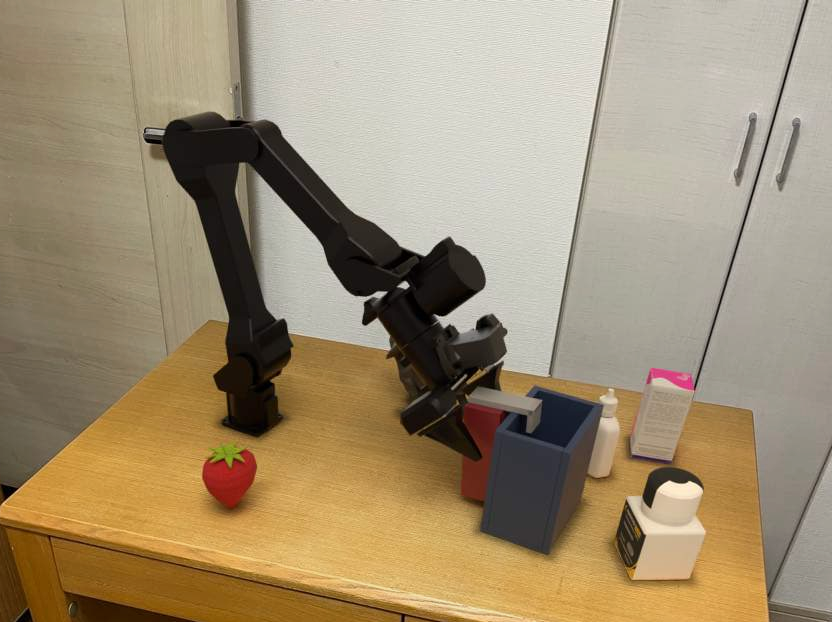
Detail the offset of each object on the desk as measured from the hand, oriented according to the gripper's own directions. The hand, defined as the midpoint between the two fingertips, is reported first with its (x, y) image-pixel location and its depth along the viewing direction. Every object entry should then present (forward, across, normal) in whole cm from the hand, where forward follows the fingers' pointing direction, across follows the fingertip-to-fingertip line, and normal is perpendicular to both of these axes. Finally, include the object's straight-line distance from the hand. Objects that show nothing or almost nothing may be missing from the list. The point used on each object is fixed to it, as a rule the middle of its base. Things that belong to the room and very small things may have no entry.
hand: (494, 442), depth 98 cm
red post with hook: (+6, 0, +4) cm, 7 cm away
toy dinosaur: (-4, +17, +17) cm, 25 cm away
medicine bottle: (+22, -1, -9) cm, 23 cm away
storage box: (+11, 0, +2) cm, 11 cm away
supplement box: (+17, +24, -5) cm, 30 cm away
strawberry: (-12, -18, +25) cm, 33 cm away
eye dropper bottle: (+13, +15, -1) cm, 20 cm away
